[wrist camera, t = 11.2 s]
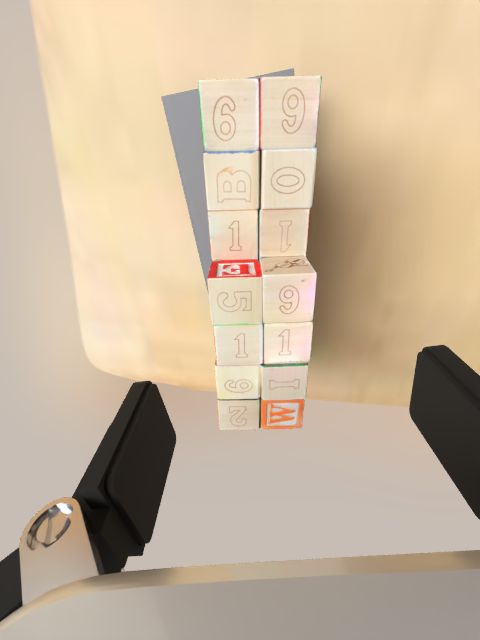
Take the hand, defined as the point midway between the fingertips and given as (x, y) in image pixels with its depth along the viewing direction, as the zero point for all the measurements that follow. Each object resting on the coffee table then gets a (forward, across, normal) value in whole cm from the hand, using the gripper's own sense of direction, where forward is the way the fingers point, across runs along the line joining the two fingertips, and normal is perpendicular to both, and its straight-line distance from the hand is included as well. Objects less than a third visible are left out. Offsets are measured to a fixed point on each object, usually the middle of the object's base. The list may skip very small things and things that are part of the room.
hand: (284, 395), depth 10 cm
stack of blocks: (+19, +1, -1) cm, 19 cm away
